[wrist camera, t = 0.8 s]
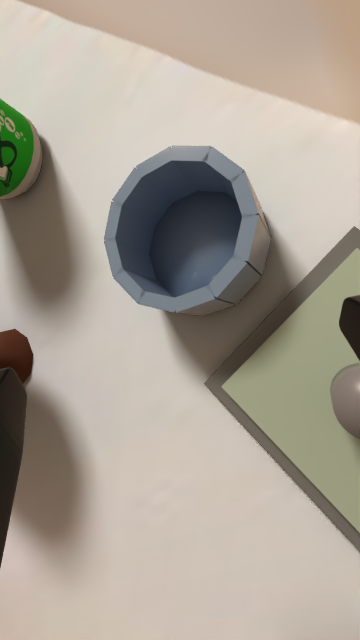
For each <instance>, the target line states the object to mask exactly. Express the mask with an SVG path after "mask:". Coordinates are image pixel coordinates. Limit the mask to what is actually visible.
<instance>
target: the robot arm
mask: <svg viewBox="0 0 360 640" xmlns="http://www.w3.org/2000/svg"><path fill="white" fill-rule="evenodd" d="M339 327H340V330H341V332H342V333H343V335H344V337H345V338H346V340H347V342H348V343H349V345H350V346H351V348H352V350H353V351H354V353H355V354H356V356H357V358H358V359H359V361H360V295H356V296H351V297H347V298H345V299H344V301H343V304H342V309H341V314H340V318H339ZM26 403H27V394H26V390H25V388H24V386H23V384H22V383H21V381H20V379H19V378H18V376H17V374H16V372H15V371H14V370H13V369H12V368H9V367H8V368H3V369H0V567H1V562H2V557H3V552H4V547H5V542H6V536H7V531H8V526H9V521H10V516H11V511H12V506H13V500H14V495H15V490H16V485H17V480H18V475H19V470H20V465H21V459H22V453H23V444H24V430H25V417H26Z"/></svg>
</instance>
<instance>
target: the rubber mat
mask: <svg viewBox="0 0 360 640" xmlns="http://www.w3.org/2000/svg"><path fill="white" fill-rule="evenodd" d="M356 248H358V249H359V250H360V230H359V229H357V228H356V227H355V226H354V227H353V228H352V229H351V230H350V231H349V232H348V233H347V234H346V235H345V236H344V237H343V238H342V239H341V240H340V241H339V243H338V244H337V245H336V246H335V247H334V248H333V249H332V250H331V251H330V252H329V253H328V254H327V255H326V256H325V257H324V258H323V259H322V260H321V261H320V262H319V264H318V265H317V266H316V267H315V268H314V269H313V270H312V271H311V272H310V273H309V274H308V275H307V276H306V277H305V278H304V279H303V280H302V281H301V282H300V283H299V285H298V286H297V287H296V288H295V289H294V290H293V291H292V292H291V293H290V294H289V295H288V296H287V297H286V298H285V299H284V300H283V301H282V302H281V303H280V304H279V305H278V307H277V308H276V309H275V310H274V311H273V312H272V313H271V314H270V315H269V316H268V317H267V318H266V319H265V320H264V321H263V322H262V323H261V324H260V325H259V326H258V328H257V329H256V330H255V331H254V332H253V333H252V334H251V335H250V336H249V337H248V338H247V339H246V340H245V341H244V342H243V343H242V344H241V345H240V346H239V347H238V349H237V350H236V351H235V352H234V353H233V354H232V355H231V356H230V357H229V358H228V359H227V360H226V361H225V362H224V363H223V364H222V365H221V366H220V367H219V368H218V369H217V371H216V372H215V373H214V374H213V375H212V376H211V377H210V378H209V379H208V380H207V381H206V382H205V383H204V384H205V385H206V386H207V387H208V389H209V390H210V391H211V392H212V393H213V394H214V395H215V396H216V397H217V398H218V399H219V400H220V401H221V403H222V404H223V405H224V406H225V407H226V408H227V409H228V410H229V411H230V412H231V413H232V414H233V415H234V417H235V418H236V419H237V420H238V421H239V422H240V423H241V424H242V425H243V426H244V427H245V428H246V429H247V431H248V432H249V433H250V434H251V435H252V436H253V437H254V438H255V439H256V440H257V441H258V442H259V443H260V445H261V446H262V447H263V448H264V449H265V450H266V451H267V452H268V453H269V454H270V455H271V456H272V457H273V459H274V460H275V461H276V462H277V463H278V464H279V465H280V466H281V467H282V468H283V469H284V470H285V471H286V473H287V474H288V475H289V476H290V477H291V478H292V479H293V480H294V481H295V482H296V483H297V484H298V485H299V487H300V488H301V489H302V490H303V491H304V492H305V493H306V494H307V495H308V496H309V497H310V498H311V499H312V501H313V502H314V503H315V504H316V505H317V506H318V507H319V508H320V509H321V510H322V511H323V512H324V513H325V515H326V516H327V517H328V518H329V519H330V520H331V521H332V522H333V523H334V524H335V525H336V526H337V527H338V529H339V530H340V531H341V532H342V533H343V534H344V535H345V536H346V537H347V538H348V539H349V540H350V541H351V543H352V544H353V545H354V546H355V547H356V548H357V549H358V550H359V551H360V533H359V532H358V531H357V530H356V528H355V527H354V526H353V525H352V524H351V523H350V522H349V521H348V520H347V519H346V518H345V517H344V516H343V515H342V514H341V513H340V512H339V511H338V509H337V508H336V507H335V506H334V505H333V504H332V503H331V502H330V501H329V500H328V499H327V498H326V497H325V496H324V495H323V494H322V493H321V492H320V490H319V489H318V488H317V487H316V486H315V485H314V484H313V483H312V482H311V481H310V480H309V479H308V478H307V477H306V476H305V475H304V474H303V473H302V471H301V470H300V469H299V468H298V467H297V466H296V465H295V464H294V463H293V462H292V461H291V460H290V459H289V458H288V457H287V456H286V455H285V454H284V452H283V451H282V450H281V449H280V448H279V447H278V446H277V445H276V444H275V443H274V442H273V441H272V440H271V439H270V438H269V437H268V436H267V435H266V433H265V432H264V431H263V430H262V429H261V428H260V427H259V426H258V425H257V424H256V423H255V422H254V421H253V420H252V419H251V418H250V417H249V416H248V414H247V413H246V412H245V411H244V410H243V409H242V408H241V407H240V406H239V405H238V404H237V403H236V402H235V401H234V400H233V399H232V398H231V397H230V395H229V394H228V393H227V392H226V391H225V390H224V389H223V388H222V387H221V386H222V385H223V384H224V383H225V382H226V381H227V380H228V379H229V378H230V377H231V376H232V375H233V374H234V373H235V372H236V371H237V370H238V369H239V368H240V367H241V366H242V365H243V364H244V363H245V362H246V361H247V360H248V359H249V358H250V357H251V356H252V355H253V354H254V353H255V351H256V350H257V349H258V348H259V347H260V346H261V345H262V344H263V343H264V342H265V341H266V340H267V339H268V338H269V337H270V336H271V335H272V334H273V333H274V332H275V331H276V330H277V329H278V328H279V327H280V326H281V325H282V324H283V323H284V322H285V321H286V320H287V319H288V318H289V317H290V316H291V315H292V314H293V313H294V312H295V311H296V310H297V309H298V307H299V306H300V305H301V304H302V303H303V302H304V301H305V300H306V299H307V298H308V297H309V296H310V295H311V294H312V293H313V292H314V291H315V290H316V289H317V288H318V287H319V286H320V285H321V284H322V283H323V282H324V281H325V280H326V279H327V278H328V277H329V276H330V275H331V274H332V273H333V272H334V271H335V270H336V269H337V268H338V267H339V266H340V264H341V263H342V262H343V261H344V260H345V259H346V258H347V257H348V256H349V255H350V254H351V253H352V252H353V251H354V250H355V249H356Z"/></svg>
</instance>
